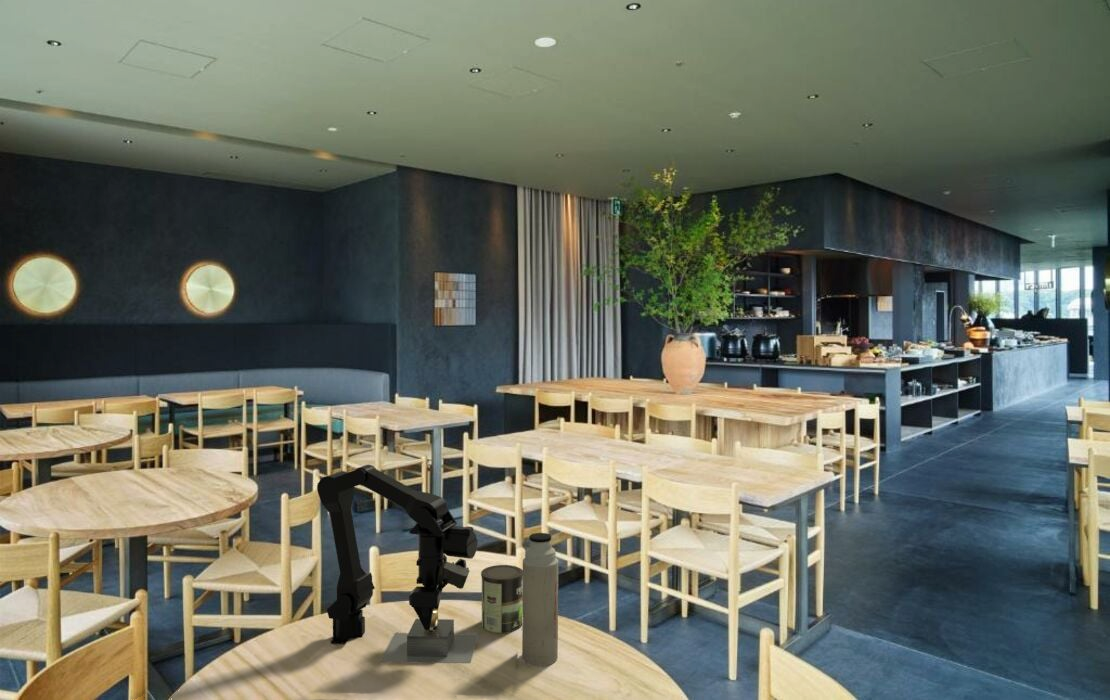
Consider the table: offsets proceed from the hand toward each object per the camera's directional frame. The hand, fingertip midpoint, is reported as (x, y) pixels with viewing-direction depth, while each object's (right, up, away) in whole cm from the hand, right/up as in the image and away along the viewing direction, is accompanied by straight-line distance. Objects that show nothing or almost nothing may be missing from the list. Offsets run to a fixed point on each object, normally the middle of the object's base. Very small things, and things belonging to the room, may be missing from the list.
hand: (431, 620), depth 163 cm
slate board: (0, -7, 0) cm, 7 cm away
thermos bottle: (+25, -8, -2) cm, 26 cm away
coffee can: (+15, -7, +13) cm, 21 cm away
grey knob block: (0, -6, 0) cm, 6 cm away
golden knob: (0, -6, 0) cm, 6 cm away
